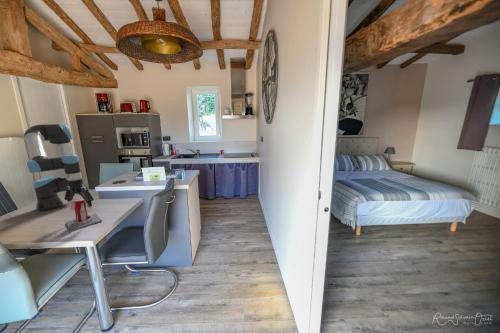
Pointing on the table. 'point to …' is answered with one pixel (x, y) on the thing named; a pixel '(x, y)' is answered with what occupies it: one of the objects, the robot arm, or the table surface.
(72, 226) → the seat plate
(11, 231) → the table surface
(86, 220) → the collar
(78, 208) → the beverage can
